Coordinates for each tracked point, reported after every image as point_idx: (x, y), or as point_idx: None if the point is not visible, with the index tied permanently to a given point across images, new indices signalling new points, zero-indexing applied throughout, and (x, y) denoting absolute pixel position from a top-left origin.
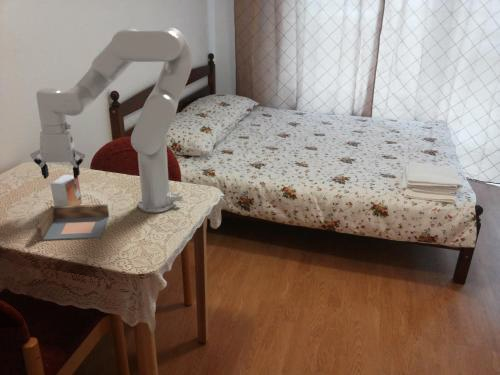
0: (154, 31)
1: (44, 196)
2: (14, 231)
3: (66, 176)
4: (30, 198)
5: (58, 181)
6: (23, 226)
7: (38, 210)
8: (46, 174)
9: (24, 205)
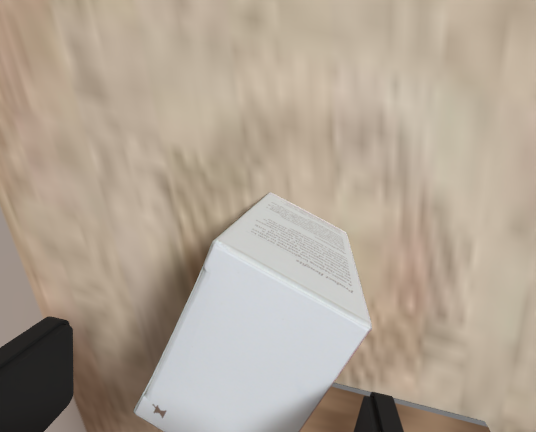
0: None
1: (131, 89)
2: (104, 404)
3: (251, 312)
4: (67, 100)
5: (194, 405)
6: (123, 379)
7: (143, 257)
8: (43, 409)
9: (66, 183)
